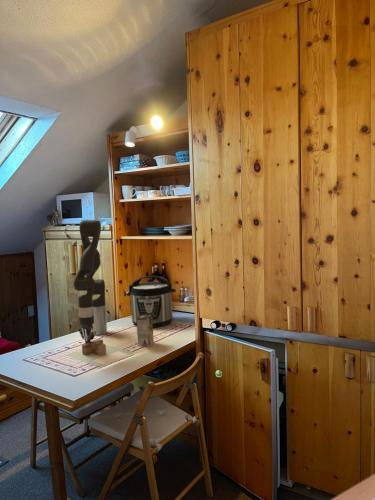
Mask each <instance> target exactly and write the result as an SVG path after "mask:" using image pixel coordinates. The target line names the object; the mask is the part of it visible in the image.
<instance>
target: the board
mask: <svg viewBox="0 0 375 500" xmlns="http://www.w3.org/2000/svg"><path fill="white" fill-rule="evenodd" d="M66 356H68V357H70V358H73V359H76V360H79V361H81V362H84V363H87V364H91V365H93V366H96V367H98V369H102V368H104V367H107V366H109V365H112V364H115V363H117V362H119V361H122V360H125V359H127V358H130V357H132V356H134V352H133V351H130V350H129V351H128V350H125V349H121V348H118V347H116V346H111V345H107V344H106V354H105V355H102V356H99V355H96V354H93V353H92V354H89V355H83V354H82V349H80V350H78V351H75V352H71V353H67V354H66ZM111 362H112V363H111Z"/></svg>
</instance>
